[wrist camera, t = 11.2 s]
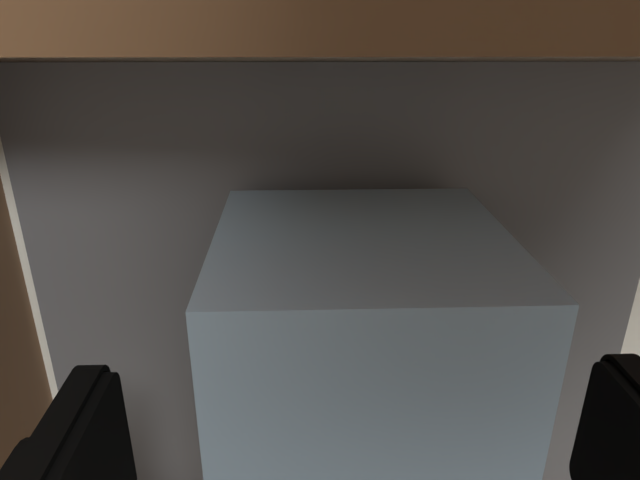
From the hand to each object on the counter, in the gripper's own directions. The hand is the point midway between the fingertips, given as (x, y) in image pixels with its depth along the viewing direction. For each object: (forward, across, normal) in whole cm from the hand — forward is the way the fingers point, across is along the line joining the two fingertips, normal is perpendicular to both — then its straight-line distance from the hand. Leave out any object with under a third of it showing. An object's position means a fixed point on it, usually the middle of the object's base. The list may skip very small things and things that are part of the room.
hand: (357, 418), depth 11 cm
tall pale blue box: (+3, 0, 0) cm, 3 cm away
